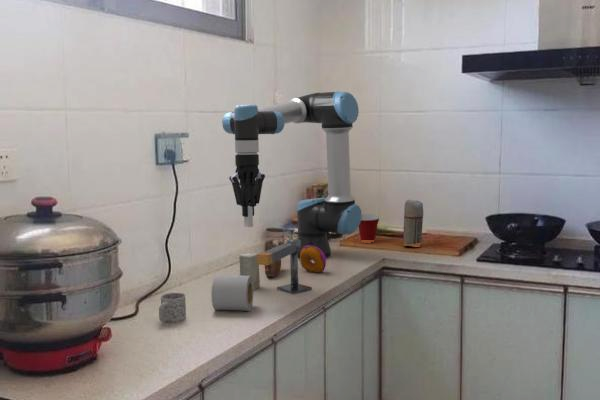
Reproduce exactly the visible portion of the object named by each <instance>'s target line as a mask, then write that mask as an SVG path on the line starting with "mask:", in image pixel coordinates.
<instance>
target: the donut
mask: <svg viewBox="0 0 600 400" xmlns="http://www.w3.org/2000/svg"><path fill="white" fill-rule="evenodd" d="M310 258H311V259H310ZM299 261H300V265H301V268H303V269H304V270H305V271H308V272H311V273H322V272H323V271H324V270H325V269H326V265H327V258H326V256H325V254H324V253H323V251H322V250H320V249H319V248H318V247H316V246H313V245H308V246H304V247H303V248H302V249H301V253H300V258H299ZM312 261H313V262H314V263H313V262H312Z"/></svg>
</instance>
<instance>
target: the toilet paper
mask: <svg viewBox="0 0 600 400" xmlns="http://www.w3.org/2000/svg"><path fill="white" fill-rule="evenodd" d="M254 290H255V289H254V288H253V279H252V277H251V276H240V275H236V274H235V275H232V274H231V275H229V274H227V275H226V274H224V275H223V274H216V275H215V276H214V277H213V280H212V284H211V293H210V294H211V305H212V308H213V309H214V310H215V311H219V310H220V311H224V310H225V311H245V312H246V311H247V312H248V311H249V312H250V311H251V310H252V306H253V303H254V293H255V292H254Z"/></svg>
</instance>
